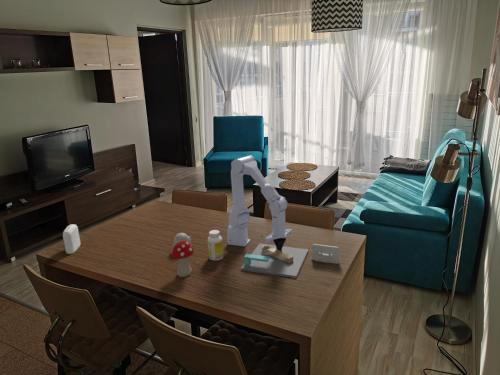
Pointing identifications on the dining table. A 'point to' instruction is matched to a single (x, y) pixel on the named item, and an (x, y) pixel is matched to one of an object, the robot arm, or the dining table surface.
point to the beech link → (277, 253)
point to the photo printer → (71, 238)
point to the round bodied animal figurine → (181, 238)
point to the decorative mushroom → (183, 257)
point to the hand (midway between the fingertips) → (279, 252)
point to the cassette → (325, 257)
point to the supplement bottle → (215, 245)
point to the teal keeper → (254, 258)
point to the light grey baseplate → (278, 262)
